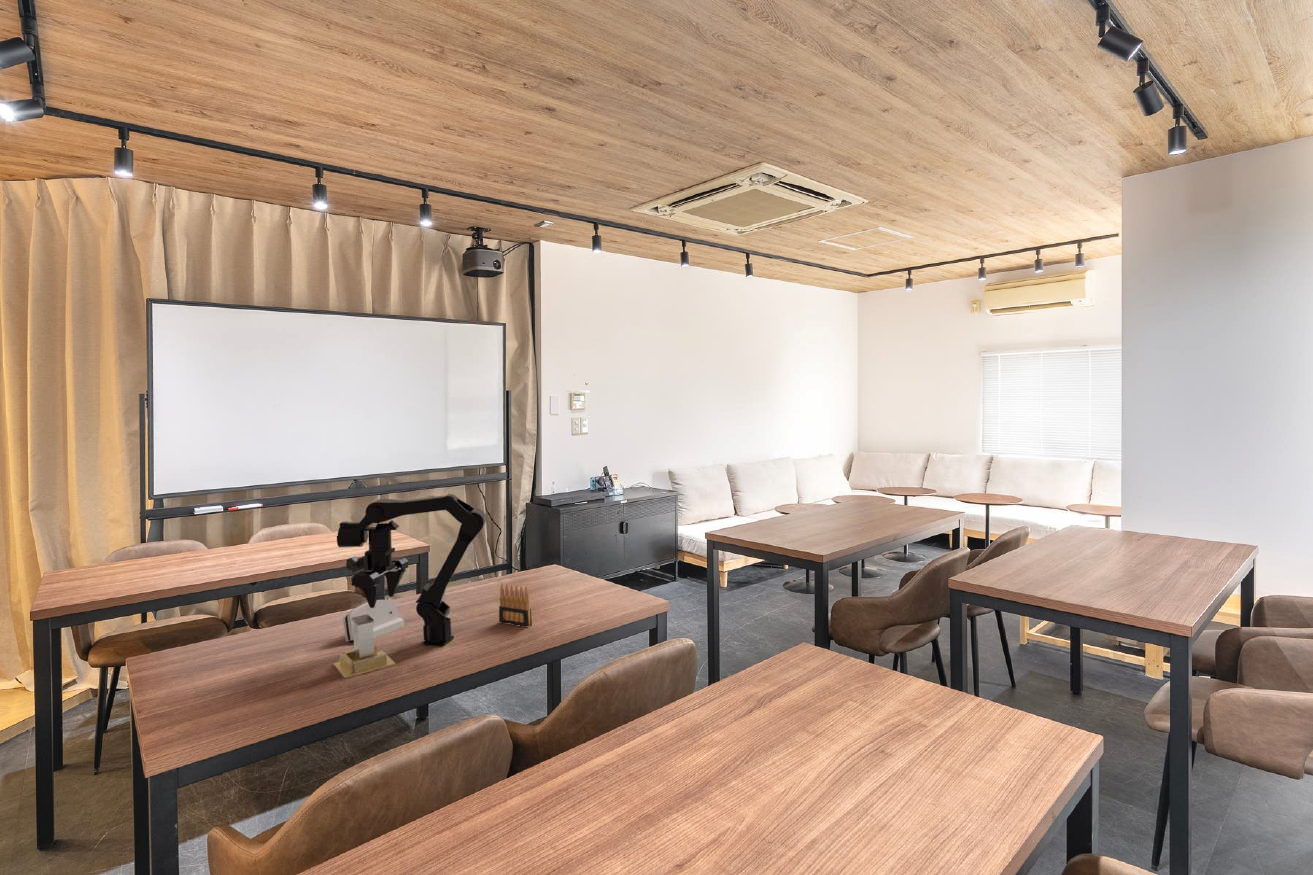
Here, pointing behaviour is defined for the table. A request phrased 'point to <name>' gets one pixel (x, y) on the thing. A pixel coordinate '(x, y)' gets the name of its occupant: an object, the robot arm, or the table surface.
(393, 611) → the white rounded housing
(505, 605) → the ammunition clip
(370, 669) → the strike pocket
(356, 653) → the bar
